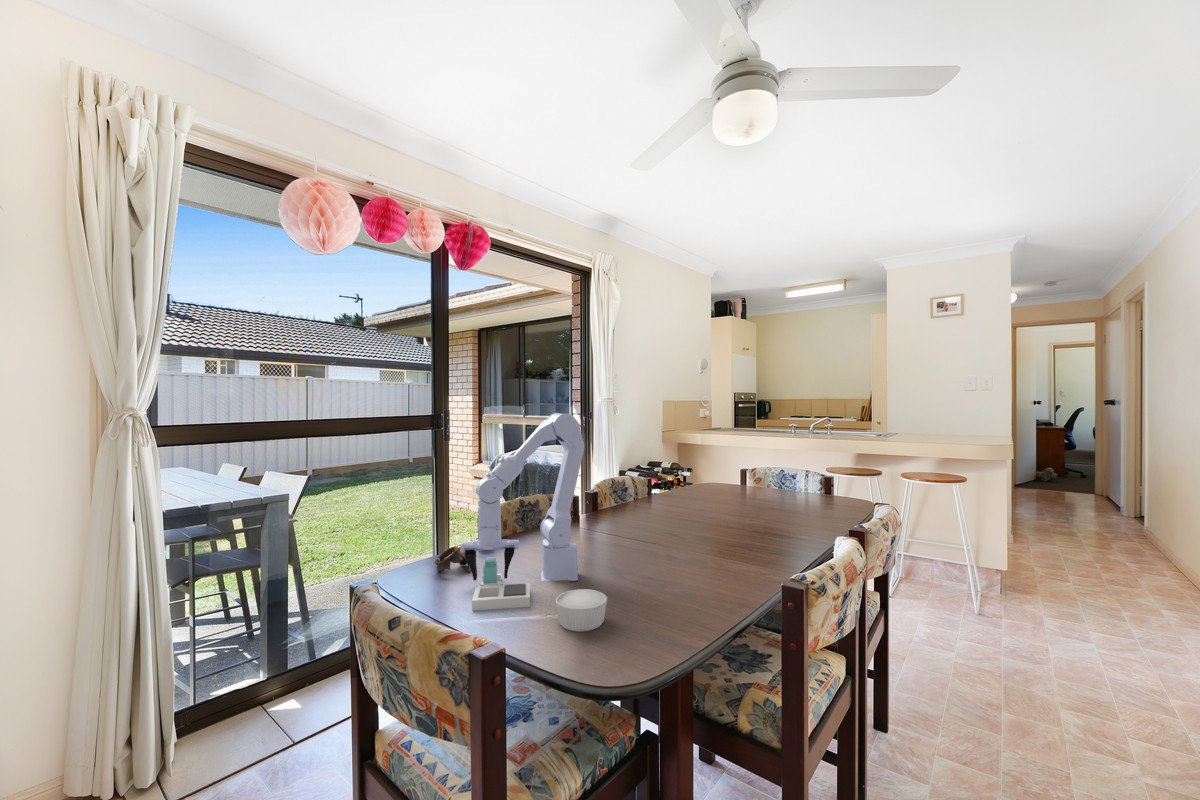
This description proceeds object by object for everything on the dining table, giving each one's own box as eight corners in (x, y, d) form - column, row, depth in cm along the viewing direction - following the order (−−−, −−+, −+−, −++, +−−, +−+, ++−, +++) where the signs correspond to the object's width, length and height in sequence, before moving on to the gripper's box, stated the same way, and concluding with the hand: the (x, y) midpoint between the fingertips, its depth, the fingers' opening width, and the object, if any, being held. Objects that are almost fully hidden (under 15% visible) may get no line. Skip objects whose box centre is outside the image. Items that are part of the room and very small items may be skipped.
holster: (501, 580, 135) (501, 573, 135) (499, 592, 127) (499, 584, 127) (482, 581, 134) (482, 574, 134) (479, 593, 126) (479, 585, 126)
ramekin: (558, 611, 115) (558, 588, 115) (608, 611, 115) (607, 588, 115) (552, 634, 104) (552, 609, 104) (607, 634, 104) (606, 609, 104)
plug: (497, 581, 133) (497, 556, 133) (496, 587, 128) (496, 561, 128) (485, 581, 132) (484, 557, 132) (483, 588, 128) (483, 562, 128)
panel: (530, 594, 125) (529, 581, 125) (530, 608, 117) (529, 595, 117) (476, 598, 123) (475, 584, 123) (472, 613, 115) (471, 599, 115)
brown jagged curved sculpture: (471, 580, 137) (454, 556, 135) (442, 594, 138) (425, 570, 137) (483, 555, 148) (468, 533, 147) (457, 568, 150) (441, 546, 148)
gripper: (458, 530, 125) (459, 585, 125) (518, 527, 127) (518, 581, 127) (462, 523, 132) (463, 575, 132) (518, 520, 134) (519, 572, 134)
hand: (490, 578), depth 130 cm, fingers open, 7 cm apart
